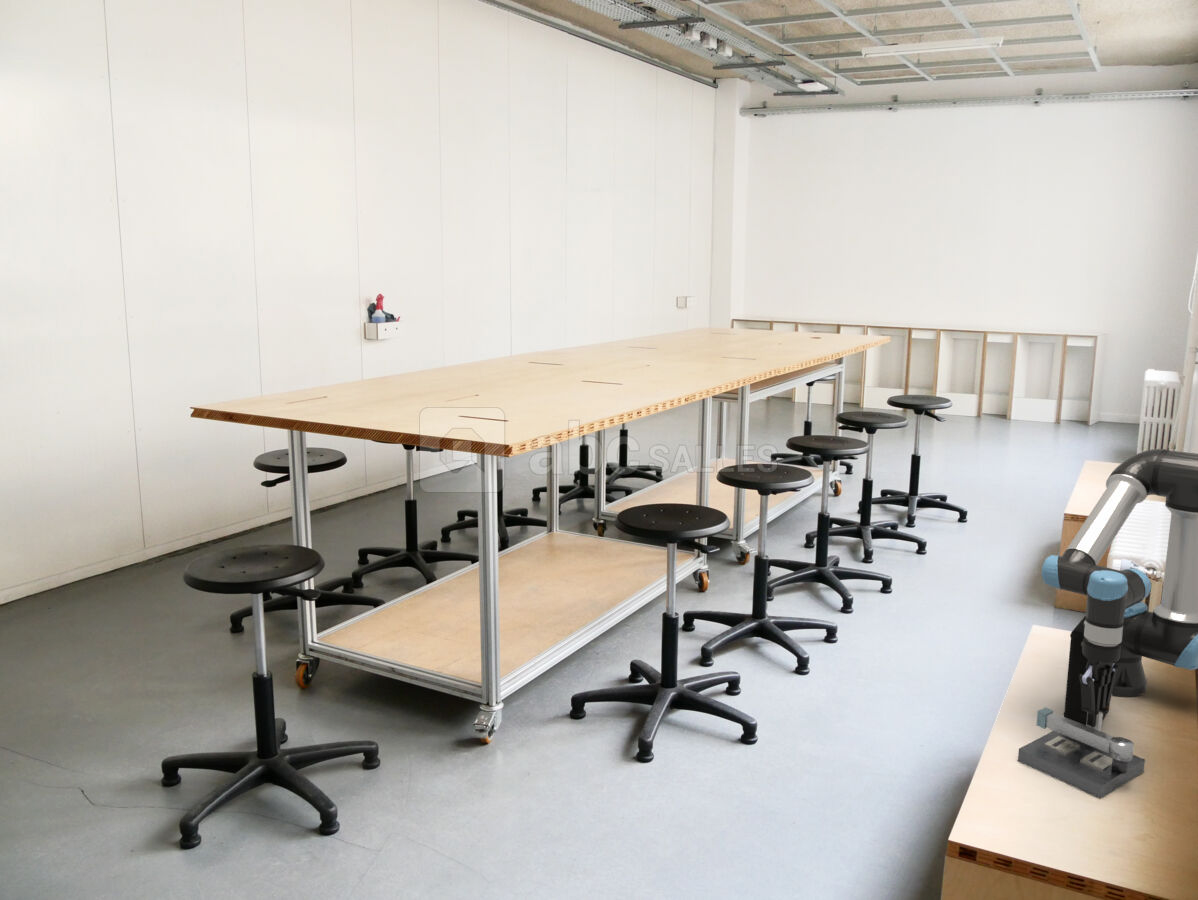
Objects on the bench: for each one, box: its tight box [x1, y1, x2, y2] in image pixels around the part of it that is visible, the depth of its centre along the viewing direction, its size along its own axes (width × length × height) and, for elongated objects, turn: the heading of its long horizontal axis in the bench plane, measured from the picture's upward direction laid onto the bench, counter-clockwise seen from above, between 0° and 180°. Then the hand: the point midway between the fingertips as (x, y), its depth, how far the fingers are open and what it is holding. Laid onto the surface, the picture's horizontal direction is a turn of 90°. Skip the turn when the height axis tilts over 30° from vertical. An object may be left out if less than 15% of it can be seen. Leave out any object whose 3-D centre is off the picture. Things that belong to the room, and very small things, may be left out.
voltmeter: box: [1062, 615, 1111, 725], centre depth 233 cm, size 16×9×25 cm, turn 141°
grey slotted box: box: [1017, 730, 1146, 799], centre depth 214 cm, size 18×20×6 cm
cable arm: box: [1035, 707, 1135, 762], centre depth 212 cm, size 4×21×4 cm, turn 35°
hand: (1092, 737), depth 217 cm, fingers closed
